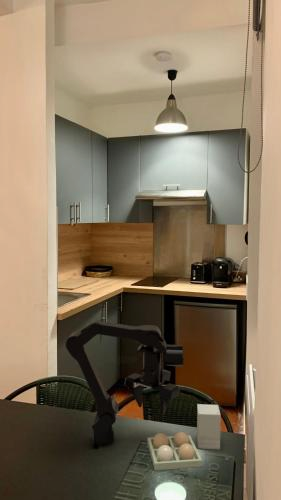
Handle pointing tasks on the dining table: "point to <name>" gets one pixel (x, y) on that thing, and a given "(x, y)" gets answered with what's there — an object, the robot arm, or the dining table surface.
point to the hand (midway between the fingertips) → (151, 410)
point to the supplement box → (208, 426)
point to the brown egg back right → (181, 439)
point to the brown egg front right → (186, 452)
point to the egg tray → (176, 460)
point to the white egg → (165, 453)
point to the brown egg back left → (160, 440)
